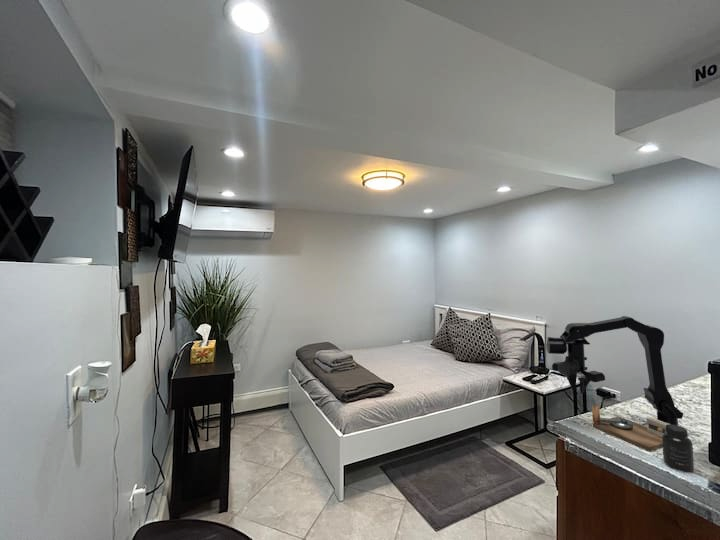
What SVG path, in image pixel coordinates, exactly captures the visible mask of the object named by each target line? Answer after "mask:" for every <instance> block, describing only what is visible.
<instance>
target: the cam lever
mask: <svg viewBox="0 0 720 540" xmlns="http://www.w3.org/2000/svg"><path fill="white" fill-rule="evenodd" d="M591 413H592V423H597V424H600V422H606V423H610V424H611V425H613V426H615V427H618V428H623V429H632V428H633V424H632V423H631V422H630V421H631V420H630V421H628V420H629V419H627V420H625V419H626V418H624V419H621V418H613V417H610V418H611V419H610V418H609V417H607V418H606V417H601V415H600V407H599V406H597V405H591Z"/></svg>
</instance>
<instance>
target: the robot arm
mask: <svg viewBox="0 0 720 540" xmlns="http://www.w3.org/2000/svg"><path fill="white" fill-rule="evenodd" d="M625 328H627V329H629V330H632V331H633V332H635V333H636V334H637V336H638V339H639V341H640V343H641V345H642V346H643V349H644V353H645V360H646V361H645V362H646V367H647V368H646V369H647V374H648V375H647V376H648V380H649V385H648V388H647V387H643V391H644V398H645V400H646V401H647V402H648V404H650V405H651V406H652V407H653V409H654V410H656V419H657V420H660V421H663V422H665V423H668V424H671V425H677V426H679V419H680V420H682V419H683V416H684V412H682V411H681V410H680V409H678V408H677V407H676V406H675V403H674V400H673V397H672V395H671V393H670V391H669V390H668V388H667V384H666V378H665V377H666V376H665V371H664V370H665V369H664V364H663V358H662V348H663V346H664V344H665V333H664V331H663V330H661V329H660V328H658V327H655V326H651V325H649V324H644V323H642V322H640V321H638V320H636V319H634V318H633V317H630V316H626V315H623V316H620V317H616V318H611V319H605V320H599V321H594V322H572V323H568V324H567V325H566V326H565V329H564V331H563V332H562V334H561V335H560V336H559V337H551V336H548V337H547V340H546V343H545V344H546V345H545V346H546V352H547V354H550V355H551V354H553V355H554V354H555V355H564V354H566V353H567V355H566V356H565V358H564V361H557V362H553V363H552V365H551V369H552V370H553V371H557V372H558V373H559V374H560V375H563V376H564V377H565V378H566V379H567V381H568V383H569V386H570V388H571V391H573V392H575V391H576V389H577V380H578V381H579V393H580V394H581V395H582V394H584V393H585V392H586V388H588V385H589V383H590V382H592V383H599V382H604V381H606V376H605V374H604V373H603V372H600V371H596V370H590V371H588V367H587V366H586V361H587V359H588V357H587V356H585V345H590V344H591V343H590V342H589V341H587V339H586V338H588V337H589V336H592V335H593V334H598V333H602V332H608V331H613V330H614V331H615V330H621V329H625ZM578 375H580V377H577V376H578Z"/></svg>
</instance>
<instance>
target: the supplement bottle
mask: <svg viewBox="0 0 720 540" xmlns="http://www.w3.org/2000/svg"><path fill="white" fill-rule="evenodd" d="M662 443H663V447H662V453H663V454H662V456H663V457H662V458H663V462H664V463H665V464H666V466H668V467H670V468H671V469H674V470H677V471H680V472H687V473H690V472H693V471H694V469H695V467H694V466H695V463H694V462H695V461H694V447H693V446H694V445H693V441H692V440H691V439H690V438H689V435H688V430H687V428H685V427H683V426H682V425H681V426H680V425H678V426H677V425H671V424H669V425H666V433H664V434H663V435H662Z"/></svg>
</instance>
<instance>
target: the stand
mask: <svg viewBox="0 0 720 540" xmlns="http://www.w3.org/2000/svg"><path fill="white" fill-rule="evenodd" d="M611 418H621V419H625V420H628V421H630V422H631V423H632V424H633V428H632V429H623V428H618V427H615V426H613V425H611V424H610V423H606V422H600V424H597V423H594V422H592V427H593V428H594V429H596V430H599V431H601V432H604V433H606V434H608V435H611V436H612V437H615V438H617V439H619V440H622V441H623V442H627V443H629V444H632V445H634V446H636V447H638V448H641V449H643V450H644V451H647V452H650V453H651V452H653V451H657V450H660V449H663V443H662V435H663V434H664V433H666V425H669V424H668V423H665V422H663V421H660V420H657V418H653V417H648V418H646V426H645V425H643V424H640V423H637V422H635V421H632V420H629V419H627V418H624V417H621V416H618V415H617V416H614V417H610V418H609V419H611Z"/></svg>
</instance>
